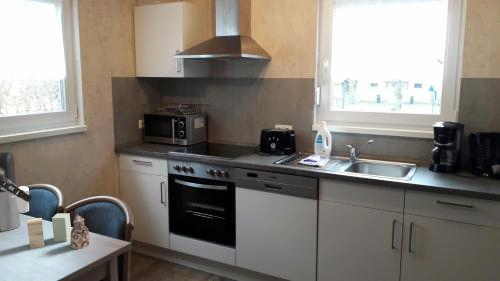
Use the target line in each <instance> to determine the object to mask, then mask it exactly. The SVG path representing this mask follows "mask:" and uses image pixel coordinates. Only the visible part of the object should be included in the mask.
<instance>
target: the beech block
mask: <svg viewBox="0 0 500 281" xmlns="http://www.w3.org/2000/svg"><path fill="white" fill-rule="evenodd" d="M26 222H27V223H26V225H27V233H28V234H27V235H28V243H29V249H30V250H32V249H36V248H42V247H45V238H44V229H43V218H42V217H39V218H32V219H28V220H26Z"/></svg>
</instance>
